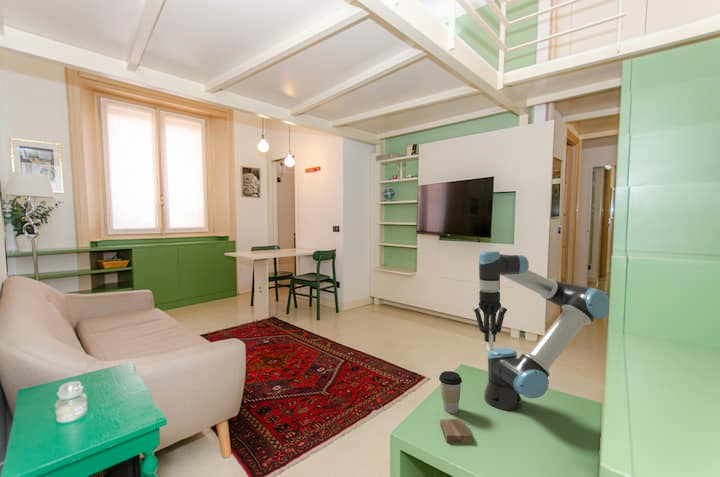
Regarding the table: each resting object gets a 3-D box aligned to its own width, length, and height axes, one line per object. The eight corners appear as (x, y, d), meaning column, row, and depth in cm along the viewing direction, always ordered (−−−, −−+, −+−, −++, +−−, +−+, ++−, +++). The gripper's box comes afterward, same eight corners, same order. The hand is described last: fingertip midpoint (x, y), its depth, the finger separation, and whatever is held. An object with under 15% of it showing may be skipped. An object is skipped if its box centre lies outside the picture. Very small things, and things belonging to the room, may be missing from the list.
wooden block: (463, 419, 125) (440, 419, 125) (471, 435, 115) (446, 435, 115) (463, 426, 125) (440, 426, 126) (471, 443, 115) (446, 443, 116)
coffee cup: (459, 418, 130) (459, 382, 130) (436, 412, 135) (436, 377, 134) (464, 407, 138) (463, 372, 138) (442, 401, 143) (442, 368, 143)
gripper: (501, 288, 129) (502, 346, 130) (469, 289, 129) (470, 346, 130) (510, 291, 122) (511, 353, 122) (476, 292, 121) (477, 353, 122)
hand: (490, 349), depth 126 cm, fingers closed
